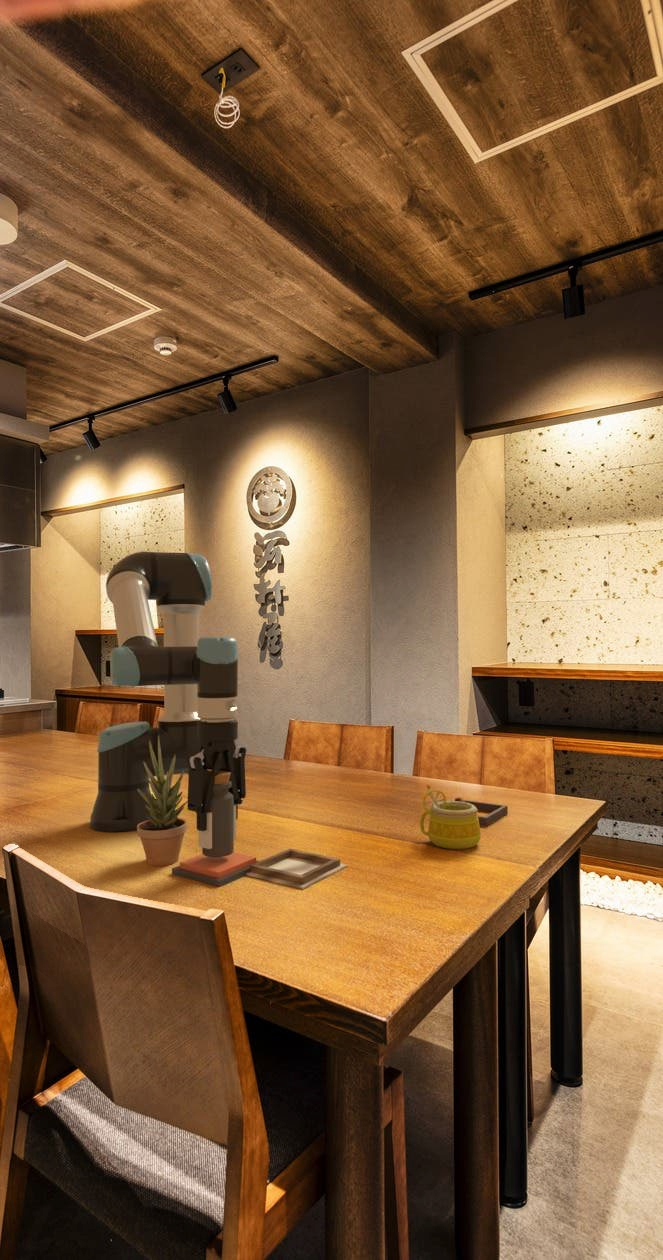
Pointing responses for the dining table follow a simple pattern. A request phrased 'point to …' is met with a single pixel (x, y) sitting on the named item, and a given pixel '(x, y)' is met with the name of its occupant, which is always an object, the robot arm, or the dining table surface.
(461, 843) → the mug
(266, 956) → the dining table surface
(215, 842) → the cork-lidded jar
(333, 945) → the dining table surface
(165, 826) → the potted plant
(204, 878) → the ink pad
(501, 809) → the pastry tray
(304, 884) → the frame
